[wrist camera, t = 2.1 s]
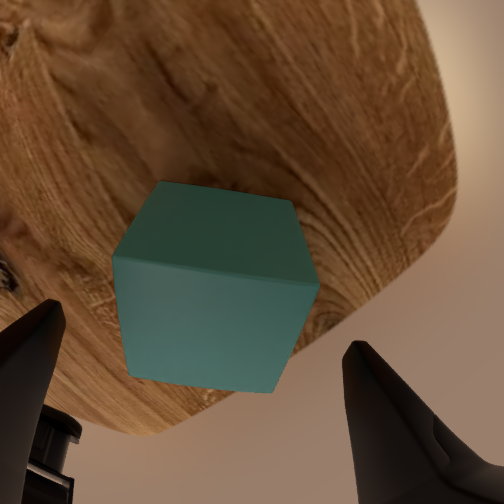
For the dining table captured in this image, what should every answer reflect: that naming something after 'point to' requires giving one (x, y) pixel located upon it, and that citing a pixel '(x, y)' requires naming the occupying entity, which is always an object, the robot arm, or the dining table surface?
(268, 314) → the toy cube
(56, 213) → the dining table surface
